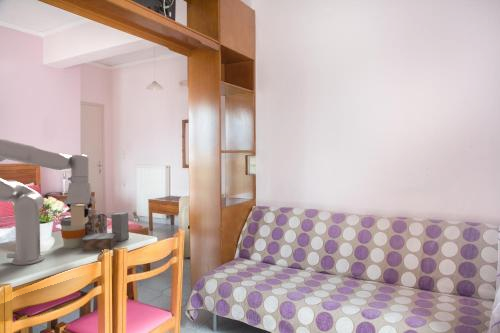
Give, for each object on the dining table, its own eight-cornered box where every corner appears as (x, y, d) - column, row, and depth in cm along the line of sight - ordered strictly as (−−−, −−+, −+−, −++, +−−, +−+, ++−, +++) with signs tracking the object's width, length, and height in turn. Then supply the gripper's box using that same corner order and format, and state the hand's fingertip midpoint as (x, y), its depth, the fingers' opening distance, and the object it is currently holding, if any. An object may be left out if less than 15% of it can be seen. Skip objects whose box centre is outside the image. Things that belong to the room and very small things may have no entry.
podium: (81, 250, 174) (81, 239, 174) (88, 244, 187) (88, 233, 187) (112, 249, 177) (112, 238, 177) (116, 243, 190) (116, 232, 190)
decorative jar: (76, 241, 194) (76, 210, 193) (90, 236, 205) (90, 207, 205) (94, 242, 191) (94, 211, 190) (107, 237, 202) (107, 208, 202)
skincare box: (121, 241, 193) (121, 214, 193) (110, 241, 195) (110, 214, 194) (129, 238, 202) (129, 212, 201) (119, 237, 203) (118, 211, 203)
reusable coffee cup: (91, 243, 190) (90, 217, 189) (75, 249, 177) (75, 221, 177) (71, 242, 192) (71, 216, 192) (55, 247, 180) (54, 220, 180)
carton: (82, 225, 159) (82, 206, 159) (70, 225, 158) (70, 207, 158) (87, 221, 169) (88, 204, 169) (77, 221, 168) (77, 204, 168)
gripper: (58, 180, 158) (58, 218, 158) (96, 180, 161) (96, 218, 162) (63, 179, 165) (63, 216, 166) (100, 179, 169) (100, 215, 169)
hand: (79, 216), depth 164 cm, fingers closed on carton, 5 cm apart
